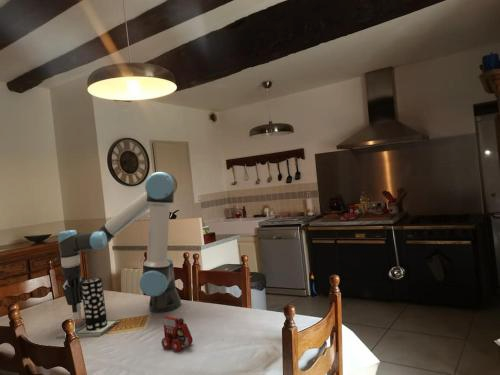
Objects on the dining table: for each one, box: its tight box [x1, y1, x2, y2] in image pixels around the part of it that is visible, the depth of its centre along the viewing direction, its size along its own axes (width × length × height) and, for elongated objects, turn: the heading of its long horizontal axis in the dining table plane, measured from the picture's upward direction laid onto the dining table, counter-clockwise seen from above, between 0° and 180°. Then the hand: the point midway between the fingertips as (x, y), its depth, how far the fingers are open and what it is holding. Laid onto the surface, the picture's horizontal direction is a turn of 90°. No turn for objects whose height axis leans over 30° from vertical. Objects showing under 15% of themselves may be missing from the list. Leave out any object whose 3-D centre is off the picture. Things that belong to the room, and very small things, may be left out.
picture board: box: [55, 317, 120, 339], centre depth 157 cm, size 20×15×3 cm
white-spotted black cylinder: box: [81, 277, 108, 331], centre depth 157 cm, size 8×8×20 cm
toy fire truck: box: [161, 315, 194, 353], centre depth 130 cm, size 7×12×10 cm, turn 56°
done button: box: [73, 316, 84, 323], centre depth 161 cm, size 4×4×2 cm
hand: (77, 318), depth 161 cm, fingers closed
